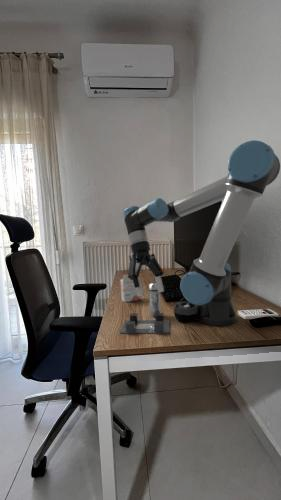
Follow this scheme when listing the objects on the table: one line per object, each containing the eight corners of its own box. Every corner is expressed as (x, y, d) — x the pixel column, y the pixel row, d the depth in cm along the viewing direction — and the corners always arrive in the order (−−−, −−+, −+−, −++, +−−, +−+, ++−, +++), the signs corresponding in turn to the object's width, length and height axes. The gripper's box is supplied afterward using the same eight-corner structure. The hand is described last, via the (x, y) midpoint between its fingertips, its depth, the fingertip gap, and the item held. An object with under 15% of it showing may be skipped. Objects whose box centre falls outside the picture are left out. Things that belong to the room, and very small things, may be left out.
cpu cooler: (202, 306, 95) (177, 310, 94) (204, 320, 96) (179, 324, 95) (194, 299, 106) (171, 303, 105) (195, 312, 106) (173, 316, 105)
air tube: (160, 313, 108) (159, 282, 107) (160, 317, 103) (159, 284, 102) (150, 313, 108) (149, 282, 107) (149, 317, 104) (148, 285, 103)
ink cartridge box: (135, 297, 136) (134, 272, 135) (139, 300, 132) (137, 273, 131) (121, 300, 133) (119, 273, 132) (124, 302, 129) (122, 275, 127)
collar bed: (169, 321, 98) (168, 312, 98) (169, 333, 86) (169, 324, 86) (125, 321, 100) (125, 313, 100) (119, 333, 88) (119, 324, 88)
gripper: (150, 247, 112) (161, 292, 108) (111, 244, 93) (123, 299, 88) (163, 241, 108) (175, 288, 103) (125, 238, 89) (138, 295, 84)
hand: (151, 293), depth 96 cm, fingers open, 13 cm apart
